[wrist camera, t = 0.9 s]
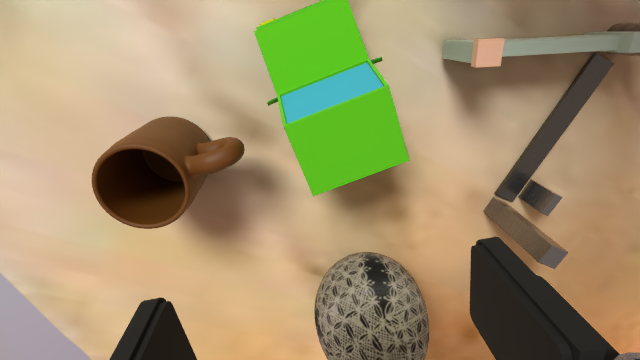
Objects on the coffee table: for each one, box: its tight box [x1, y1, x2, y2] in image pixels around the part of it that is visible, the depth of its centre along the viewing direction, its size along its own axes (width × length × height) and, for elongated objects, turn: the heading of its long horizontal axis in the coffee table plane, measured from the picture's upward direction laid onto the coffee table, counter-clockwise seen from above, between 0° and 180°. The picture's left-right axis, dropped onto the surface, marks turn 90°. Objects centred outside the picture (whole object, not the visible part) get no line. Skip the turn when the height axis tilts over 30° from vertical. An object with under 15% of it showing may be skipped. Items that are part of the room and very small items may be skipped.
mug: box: [92, 117, 244, 229], centre depth 31 cm, size 12×8×9 cm, turn 108°
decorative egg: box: [315, 252, 429, 360], centre depth 37 cm, size 12×12×15 cm
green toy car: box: [254, 0, 410, 196], centre depth 29 cm, size 10×13×10 cm
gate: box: [442, 32, 640, 68], centre depth 30 cm, size 16×2×7 cm, turn 93°
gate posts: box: [484, 23, 640, 269], centre depth 33 cm, size 23×4×11 cm, turn 155°
